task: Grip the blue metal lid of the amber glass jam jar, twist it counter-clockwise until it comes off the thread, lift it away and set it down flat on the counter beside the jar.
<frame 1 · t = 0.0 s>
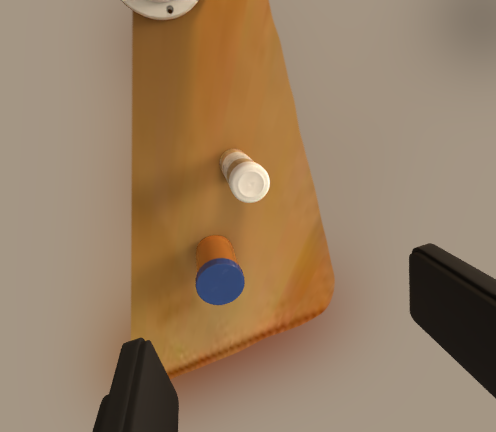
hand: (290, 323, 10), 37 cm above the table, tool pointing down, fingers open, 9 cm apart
sprinkles bottle: (233, 162, 45), on the table
lid: (220, 283, 41), point 9 cm above the table, screwed on, not yet turned
jar: (214, 252, 50), on the table
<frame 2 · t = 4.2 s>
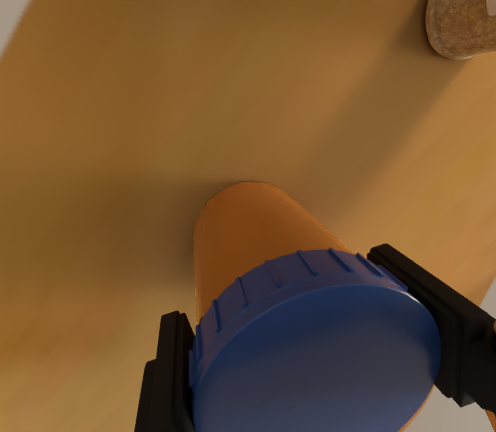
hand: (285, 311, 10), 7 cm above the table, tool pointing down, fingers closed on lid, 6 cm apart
sprinkles bottle: (458, 10, 14), on the table
lid: (319, 382, 8), point 9 cm above the table, screwed on, not yet turned, touching gripper
jar: (249, 236, 17), on the table
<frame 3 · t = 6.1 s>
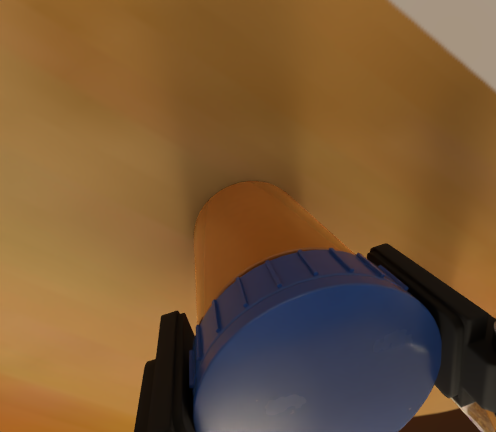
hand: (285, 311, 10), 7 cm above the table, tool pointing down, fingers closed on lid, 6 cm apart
sprinkles bottle: (417, 318, 22), on the table
lid: (319, 382, 8), point 10 cm above the table, turned 79° so far, risen 0.2 cm, still on its thread, touching gripper
jar: (249, 234, 17), on the table
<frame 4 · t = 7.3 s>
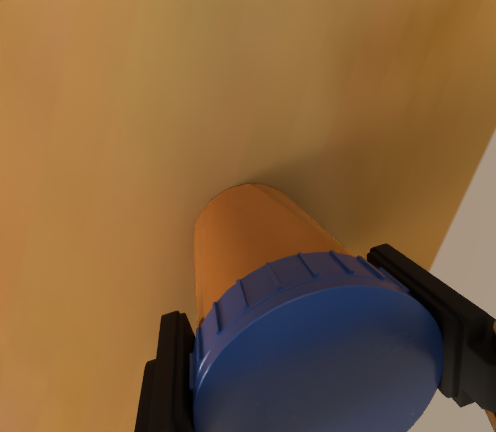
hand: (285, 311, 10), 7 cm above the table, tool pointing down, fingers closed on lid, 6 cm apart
lid: (320, 386, 8), point 10 cm above the table, off its thread, touching gripper
jar: (249, 237, 17), on the table
when the fingers open (1 cm above the table, at t = 14.5 s): lid drops 3 cm, point 1 cm above the table.
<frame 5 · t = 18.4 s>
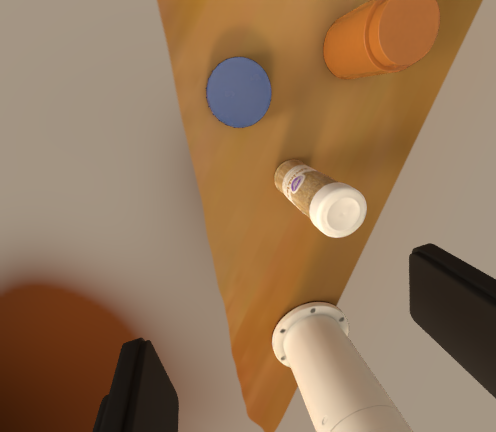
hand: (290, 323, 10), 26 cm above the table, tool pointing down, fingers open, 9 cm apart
sprinkles bottle: (290, 176, 36), on the table
lid: (239, 93, 30), point 1 cm above the table, off its thread
jar: (350, 47, 32), on the table
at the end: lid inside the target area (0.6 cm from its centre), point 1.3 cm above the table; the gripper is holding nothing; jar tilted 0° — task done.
